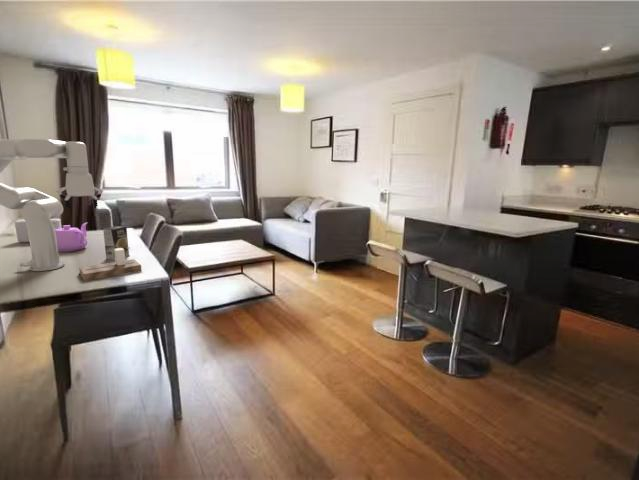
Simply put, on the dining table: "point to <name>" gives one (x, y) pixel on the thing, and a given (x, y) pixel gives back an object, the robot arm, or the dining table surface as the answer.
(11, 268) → the dining table surface
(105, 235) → the coffee box
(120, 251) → the white rectangular block
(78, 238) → the teapot
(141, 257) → the dining table surface
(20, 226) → the stereo radio cassette player
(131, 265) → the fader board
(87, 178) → the robot arm
